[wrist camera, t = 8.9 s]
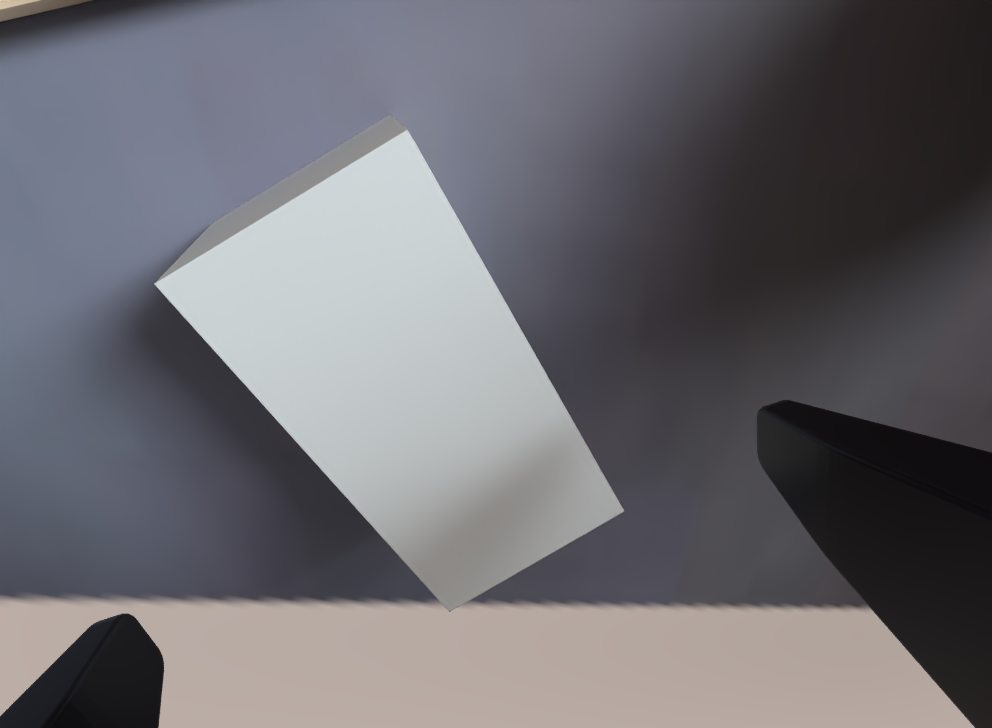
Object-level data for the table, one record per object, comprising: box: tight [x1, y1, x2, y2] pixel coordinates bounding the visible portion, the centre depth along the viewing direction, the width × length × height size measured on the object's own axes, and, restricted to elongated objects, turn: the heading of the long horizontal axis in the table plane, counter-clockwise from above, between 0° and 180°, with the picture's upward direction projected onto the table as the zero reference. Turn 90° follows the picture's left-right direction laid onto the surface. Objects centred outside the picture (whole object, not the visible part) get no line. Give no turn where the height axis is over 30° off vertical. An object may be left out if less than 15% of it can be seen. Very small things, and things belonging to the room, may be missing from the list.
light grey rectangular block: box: [154, 114, 624, 612], centre depth 13 cm, size 9×4×4 cm, turn 29°
